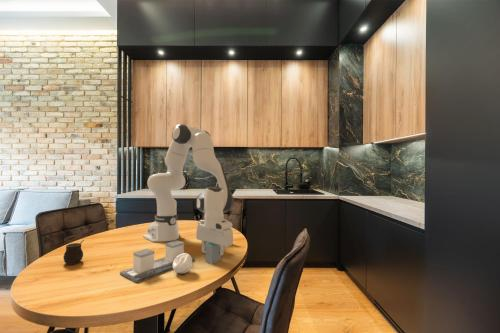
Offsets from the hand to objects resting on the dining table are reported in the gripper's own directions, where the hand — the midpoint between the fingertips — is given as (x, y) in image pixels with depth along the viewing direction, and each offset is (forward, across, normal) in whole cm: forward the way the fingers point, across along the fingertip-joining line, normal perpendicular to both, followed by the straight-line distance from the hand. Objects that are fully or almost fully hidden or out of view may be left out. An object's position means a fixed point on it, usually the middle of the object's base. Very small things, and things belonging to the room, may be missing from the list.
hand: (213, 252), depth 116 cm
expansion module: (+4, 0, 0) cm, 4 cm away
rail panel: (+4, -13, -19) cm, 23 cm away
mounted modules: (+2, -13, -19) cm, 23 cm away
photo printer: (+4, -10, +9) cm, 14 cm away
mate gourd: (+4, -47, -39) cm, 61 cm away
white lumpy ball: (+4, -1, -17) cm, 17 cm away
